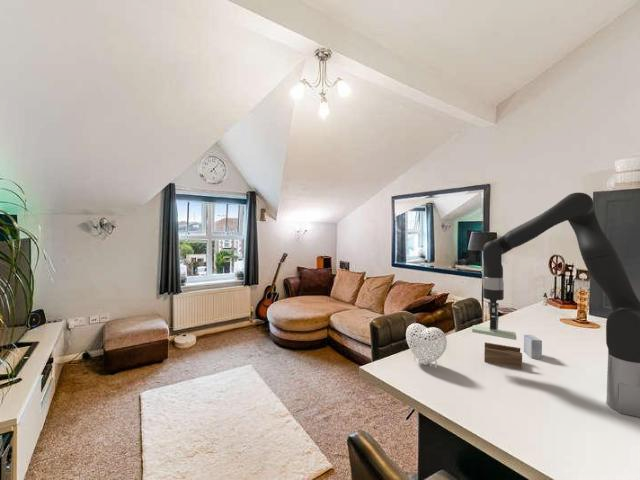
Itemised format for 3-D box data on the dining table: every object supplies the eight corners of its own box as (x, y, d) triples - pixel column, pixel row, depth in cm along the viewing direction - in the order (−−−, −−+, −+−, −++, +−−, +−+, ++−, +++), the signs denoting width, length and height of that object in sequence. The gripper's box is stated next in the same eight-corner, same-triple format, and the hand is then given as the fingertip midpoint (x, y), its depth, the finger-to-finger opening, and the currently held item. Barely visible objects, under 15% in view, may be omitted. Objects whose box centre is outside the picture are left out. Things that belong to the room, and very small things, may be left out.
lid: (516, 340, 121) (517, 322, 121) (472, 332, 129) (472, 315, 129) (515, 335, 127) (516, 318, 126) (472, 328, 134) (473, 311, 134)
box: (521, 368, 128) (522, 354, 127) (484, 361, 134) (484, 348, 134) (519, 361, 136) (520, 347, 135) (484, 354, 142) (484, 341, 142)
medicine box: (542, 359, 138) (542, 340, 137) (531, 358, 138) (531, 340, 138) (533, 352, 145) (534, 334, 145) (523, 351, 146) (523, 334, 146)
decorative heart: (400, 361, 134) (401, 323, 134) (412, 354, 142) (412, 318, 141) (440, 375, 122) (440, 333, 121) (450, 367, 129) (451, 327, 129)
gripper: (504, 291, 119) (504, 334, 120) (502, 285, 132) (502, 325, 132) (483, 289, 123) (482, 331, 123) (483, 284, 135) (483, 322, 136)
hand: (493, 327), depth 128 cm, fingers closed on lid, 2 cm apart
